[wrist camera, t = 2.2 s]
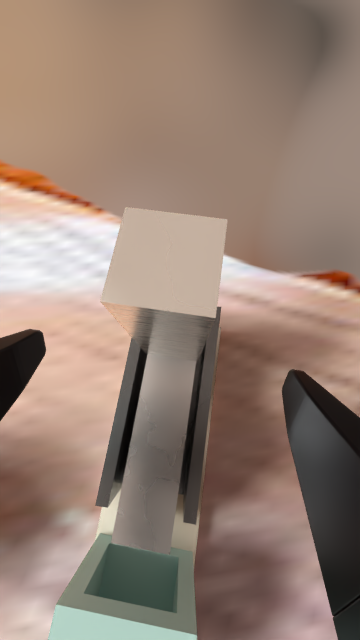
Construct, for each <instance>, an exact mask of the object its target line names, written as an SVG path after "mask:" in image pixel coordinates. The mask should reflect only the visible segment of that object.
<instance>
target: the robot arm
mask: <svg viewBox="0 0 360 640" xmlns="http://www.w3.org/2000/svg"><path fill="white" fill-rule="evenodd" d="M45 352H46V347H45V342H44V337H43V333H42V332H41V331H40V330H33V329H28V330H25V331H21V332H18V333H15V334H12V335H9V336H6V337H2V338H0V421H1V420H2V418H3V417H4V416H5V414H6V413H7V412H8V410H9V409H10V408H11V406H12V405H13V404H14V402H15V401H16V400H17V398H18V397H19V396H20V394H21V393H22V391H23V390H24V388H25V387H26V385H27V384H28V382H29V380H30V379H31V377H32V375H33V374H34V372H35V370H36V369H37V367H38V365H39V364H40V362H41V360H42V359H43V357H44V355H45ZM282 397H283V404H284V412H285V420H286V428H287V434H288V438H289V443H290V447H291V451H292V455H293V459H294V463H295V467H296V471H297V475H298V479H299V483H300V487H301V491H302V495H303V499H304V503H305V507H306V511H307V515H308V519H309V523H310V527H311V531H312V535H313V539H314V543H315V548H316V552H317V556H318V560H319V564H320V568H321V572H322V576H323V580H324V584H325V588H326V592H327V596H328V600H329V604H330V608H331V612H332V615H333V616H334V617H333V621H334V625H335V629H336V633H337V637H338V640H360V417H358V416H357V415H356V414H355V413H353V412H352V411H351V410H350V409H349V408H347V407H346V406H345V405H344V404H343V403H341V402H340V401H339V400H338V399H336V398H335V397H334V396H333V395H332V394H330V393H329V392H328V391H327V390H326V389H324V388H323V387H322V386H321V385H320V384H318V383H317V382H316V381H315V380H313V379H312V378H311V377H310V376H309V375H307V374H306V373H305V372H304V371H300V370H294V369H292V370H290V371H289V372H288V375H287V377H286V380H285V382H284V385H283V388H282Z"/></svg>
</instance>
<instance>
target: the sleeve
mask: <svg viewBox="0 0 360 640" xmlns="http://www.w3.org/2000/svg"><path fill="white" fill-rule="evenodd" d="M220 312H221V307H217V311H216V318H215V321H214V323H213V326H212V328H211V331H210V333H209V336H208V338H207V341H206V343H205V346H204V348H203V350H202V353H201V355H200V358H199V360H198V362H197V361H196V366H195V374H194V381H193V388H192V396H191V403H190V410H189V418H188V425H187V432H186V440H185V447H184V454H183V462H182V469H181V476H180V483H179V491H178V494H181V495H183V522H184V523H189V524H194V525H196V521H197V512H198V503H199V495H200V486H201V477H202V469H203V460H204V451H205V443H206V434H207V425H208V417H209V408H210V399H211V391H212V382H213V373H214V364H215V356H216V347H217V338H218V330H219V321H220ZM146 360H147V354H146V353H145V352H144V351H143V350H142V349H141V347H140V346H139V345H138V344H137V343H136V342H135V341H134V339H133V338H132V339H131V343H130V348H129V353H128V357H127V362H126V367H125V371H124V376H123V380H122V385H121V390H120V394H119V399H118V403H117V408H116V413H115V417H114V422H113V426H112V431H111V436H110V440H109V445H108V449H107V454H106V459H105V463H104V468H103V472H102V477H101V482H100V486H99V491H98V496H97V500H96V506H101V507H106V508H108V507H109V505H110V504H111V502H112V501H113V499H114V498H115V496H116V495H117V493H118V492H119V491H120V489H121V488H122V483H123V478H124V473H125V468H126V462H127V457H128V452H129V447H130V442H131V437H132V432H133V426H134V421H135V416H136V411H137V406H138V401H139V396H140V390H141V385H142V380H143V375H144V370H145V365H146Z"/></svg>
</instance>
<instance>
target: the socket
mask: <svg viewBox="0 0 360 640" xmlns="http://www.w3.org/2000/svg"><path fill="white" fill-rule="evenodd" d="M111 540H112V535H107V534H102V533H100V534H99V535H98V537H97V539H96V540H95V542H94V544H93V545H92V547H91V548H90V550H89V552H88V553H87V555H86V557H85V558H84V560H83V561H82V563H81V565H80V566H79V568H78V570H77V571H76V573H75V574H74V576H73V578H72V579H71V581H70V583H69V584H68V586H67V587H66V589H65V591H64V592H63V594H62V596H61V597H60V599H59V600H58V602H57V604H56V607H55V611H54V616H53V620H52V624H51V628H50V633H49V637H48V640H197V623H196V605H195V587H194V570H193V552H192V551H187V550H182V549H177V548H172V547H171V549H170V555H168V554H163V553H158V552H153V551H148V550H143V549H138V548H133V547H128V546H123V545H119V544H114V543H111Z"/></svg>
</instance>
